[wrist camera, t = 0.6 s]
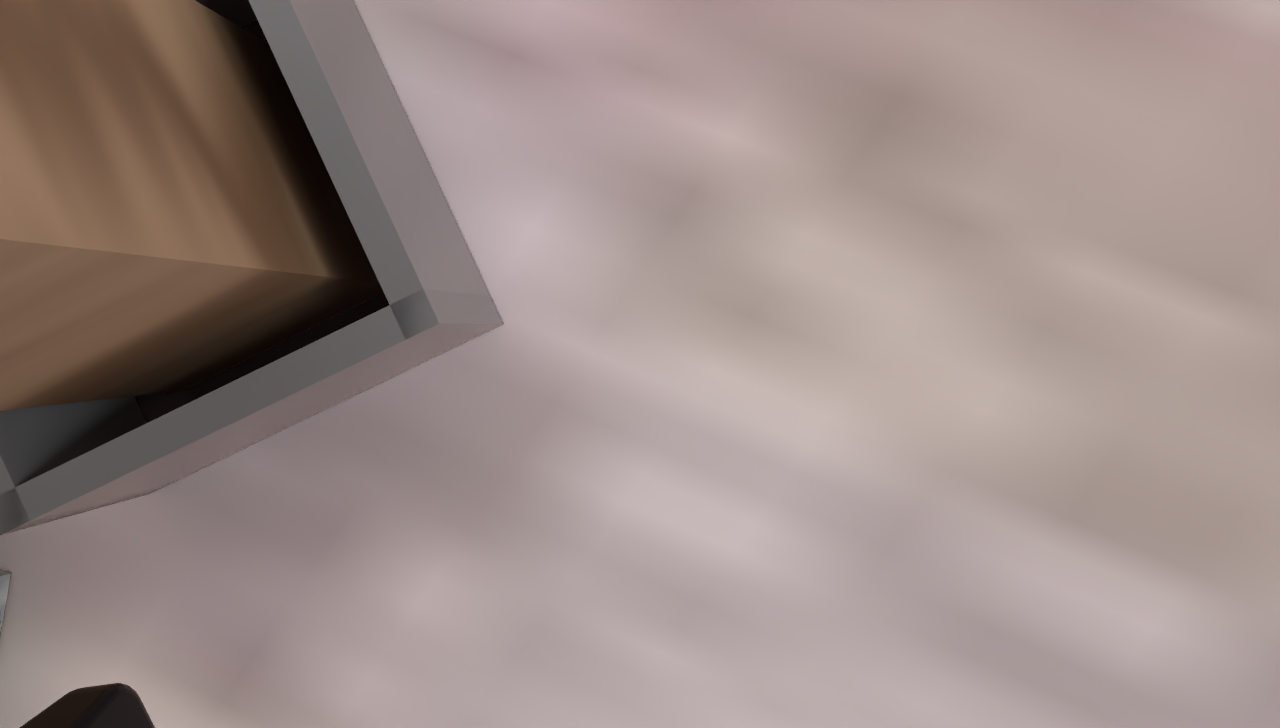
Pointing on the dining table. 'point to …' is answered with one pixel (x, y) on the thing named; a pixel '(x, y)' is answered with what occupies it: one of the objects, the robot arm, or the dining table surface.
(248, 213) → the walnut block
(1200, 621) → the dining table surface
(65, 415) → the charcoal open-top box
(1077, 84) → the dining table surface
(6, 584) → the plastic tray
